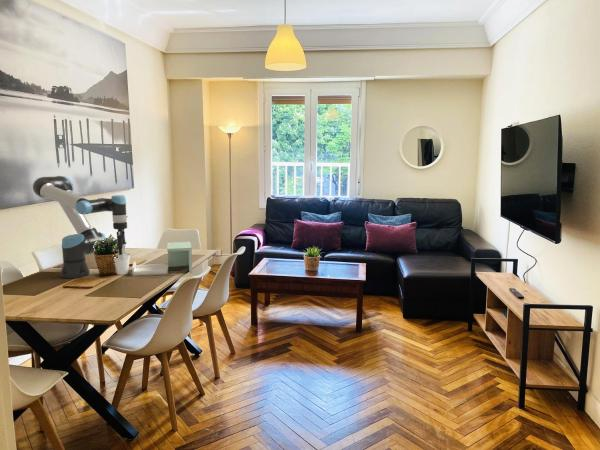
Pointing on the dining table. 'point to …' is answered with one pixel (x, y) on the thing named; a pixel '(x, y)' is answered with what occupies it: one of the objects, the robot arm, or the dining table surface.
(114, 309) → the dining table surface
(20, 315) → the dining table surface
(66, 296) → the dining table surface
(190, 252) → the pale green block
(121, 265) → the cup
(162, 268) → the tray
